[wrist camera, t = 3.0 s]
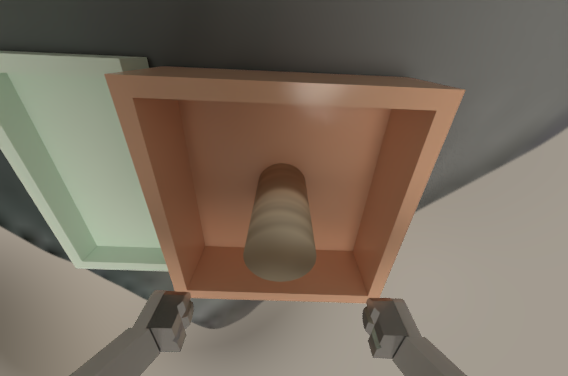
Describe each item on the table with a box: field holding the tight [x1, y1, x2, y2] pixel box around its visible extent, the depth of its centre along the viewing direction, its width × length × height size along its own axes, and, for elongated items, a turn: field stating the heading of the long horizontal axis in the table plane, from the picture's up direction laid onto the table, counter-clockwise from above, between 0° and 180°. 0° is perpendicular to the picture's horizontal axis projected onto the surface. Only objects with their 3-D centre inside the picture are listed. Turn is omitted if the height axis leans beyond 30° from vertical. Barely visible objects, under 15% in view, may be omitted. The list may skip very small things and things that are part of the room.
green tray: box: [0, 51, 168, 271], centre depth 19 cm, size 18×10×3 cm, turn 178°
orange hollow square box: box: [104, 66, 465, 303], centre depth 18 cm, size 17×17×6 cm
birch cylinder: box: [243, 163, 316, 282], centre depth 16 cm, size 4×4×8 cm
